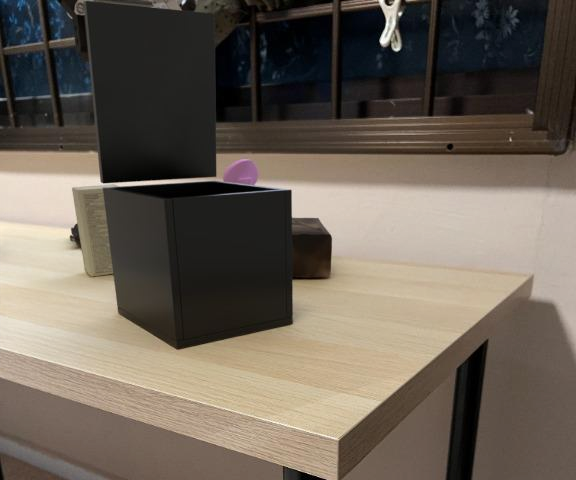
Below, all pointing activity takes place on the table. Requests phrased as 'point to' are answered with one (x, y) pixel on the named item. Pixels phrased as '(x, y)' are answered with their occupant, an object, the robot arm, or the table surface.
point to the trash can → (201, 258)
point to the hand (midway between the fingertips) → (133, 64)
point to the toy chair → (241, 172)
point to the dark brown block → (310, 248)
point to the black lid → (152, 91)
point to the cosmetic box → (93, 229)
